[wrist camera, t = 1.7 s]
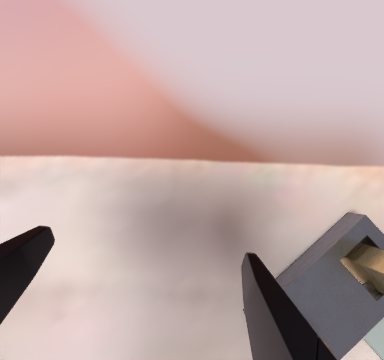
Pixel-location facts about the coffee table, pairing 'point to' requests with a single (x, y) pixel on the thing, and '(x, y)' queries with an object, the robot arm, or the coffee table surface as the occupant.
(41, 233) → the robot arm
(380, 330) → the bench mat
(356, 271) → the lever cap
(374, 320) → the plane body
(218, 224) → the coffee table surface
